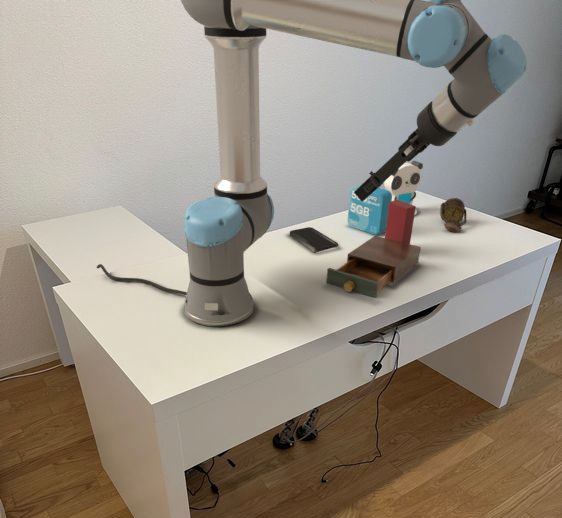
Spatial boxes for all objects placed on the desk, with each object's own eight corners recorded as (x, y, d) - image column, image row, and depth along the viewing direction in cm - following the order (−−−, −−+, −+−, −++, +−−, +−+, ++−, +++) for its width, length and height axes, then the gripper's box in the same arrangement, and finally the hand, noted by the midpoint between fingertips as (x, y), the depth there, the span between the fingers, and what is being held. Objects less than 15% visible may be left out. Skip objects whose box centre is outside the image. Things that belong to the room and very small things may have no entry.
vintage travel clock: (479, 204, 164) (449, 192, 167) (467, 212, 155) (436, 199, 158) (468, 226, 169) (439, 213, 172) (456, 235, 159) (426, 221, 162)
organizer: (392, 287, 131) (395, 267, 128) (345, 273, 137) (347, 254, 134) (417, 266, 141) (420, 246, 138) (372, 254, 147) (374, 235, 144)
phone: (310, 226, 160) (339, 243, 149) (310, 230, 160) (339, 247, 150) (287, 231, 157) (315, 249, 146) (287, 235, 157) (315, 253, 147)
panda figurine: (393, 219, 169) (399, 170, 160) (373, 208, 177) (378, 161, 168) (424, 214, 173) (432, 165, 164) (403, 203, 181) (409, 157, 172)
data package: (346, 225, 164) (350, 185, 157) (356, 222, 167) (359, 182, 160) (378, 236, 157) (383, 195, 150) (387, 232, 160) (393, 191, 153)
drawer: (371, 304, 123) (374, 285, 120) (323, 289, 129) (324, 271, 126) (402, 277, 134) (405, 260, 132) (356, 265, 140) (358, 248, 138)
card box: (383, 248, 150) (389, 201, 143) (391, 245, 152) (397, 199, 144) (400, 256, 146) (407, 208, 138) (408, 253, 148) (415, 206, 140)
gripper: (429, 161, 93) (357, 223, 111) (483, 107, 106) (411, 170, 124) (401, 126, 92) (333, 194, 110) (459, 76, 105) (390, 144, 123)
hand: (374, 182), depth 117 cm, fingers open, 13 cm apart
